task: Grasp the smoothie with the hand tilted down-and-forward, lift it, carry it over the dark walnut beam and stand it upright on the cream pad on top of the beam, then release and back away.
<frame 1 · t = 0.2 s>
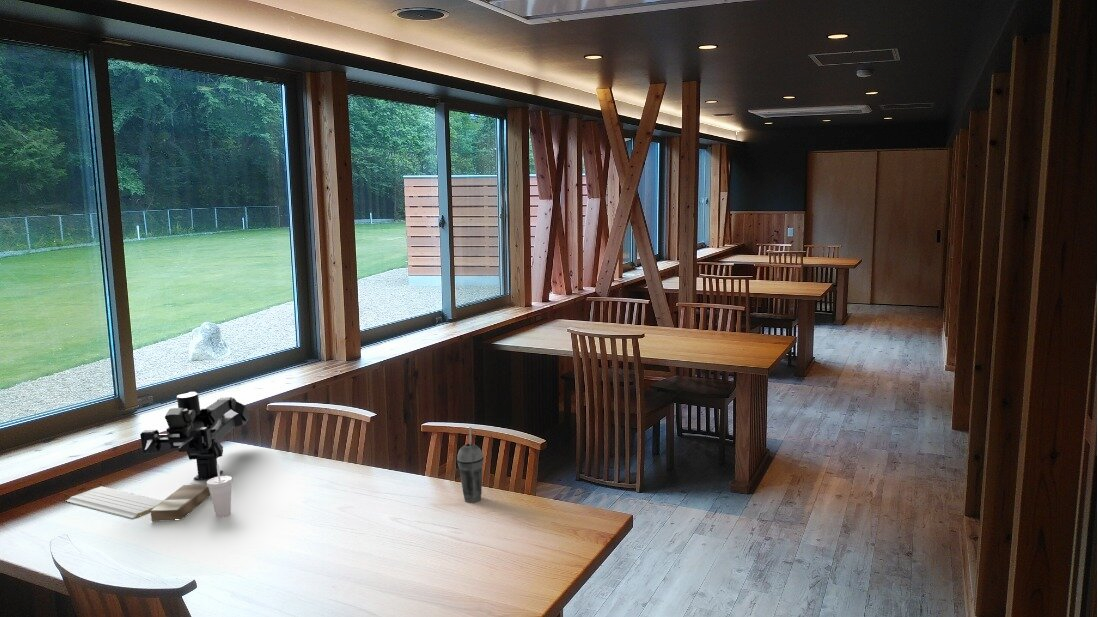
hand: (162, 451, 211), 17 cm above the table, tool horizontal, fingers open, 9 cm apart
smoothie: (223, 514, 209), on the table
baseboard molding: (114, 506, 220), on the table
beverage cup: (472, 500, 211), on the table
beam: (183, 507, 215), on the table
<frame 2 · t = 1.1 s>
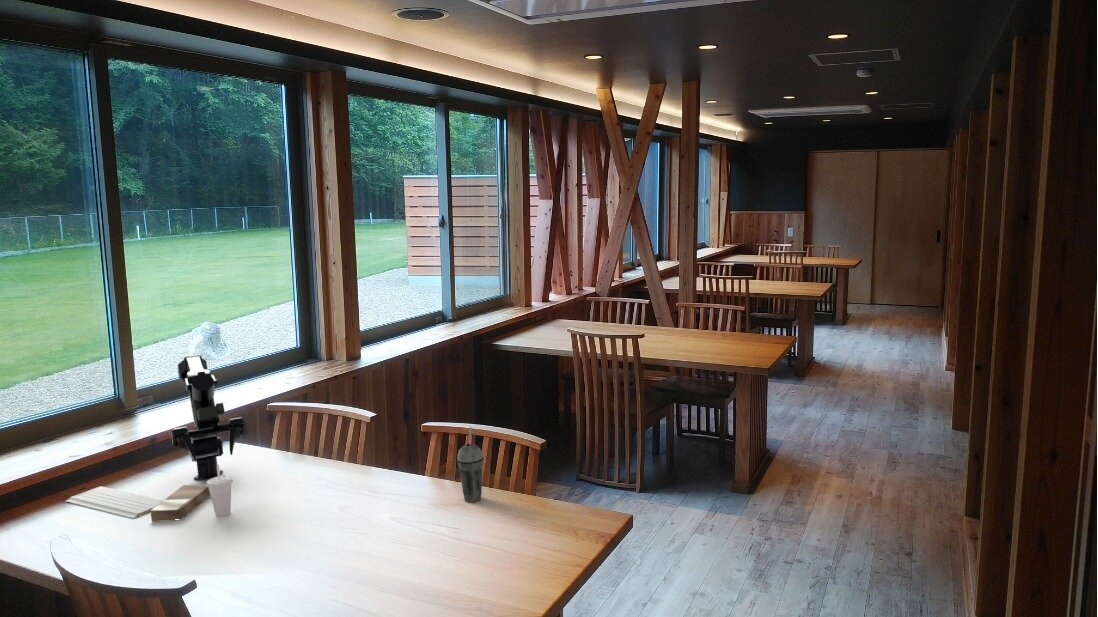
hand: (213, 457, 214), 14 cm above the table, tool tilted 45°, fingers open, 9 cm apart
nothing on the table moved.
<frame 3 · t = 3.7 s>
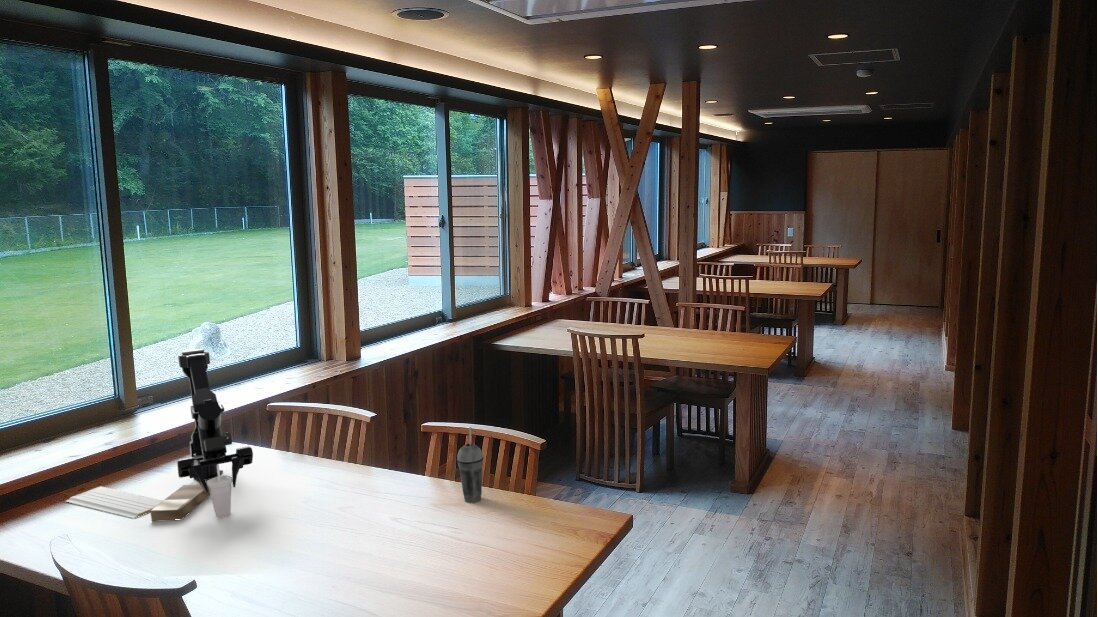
hand: (220, 489, 207), 7 cm above the table, tool tilted 45°, fingers closed on smoothie, 6 cm apart
smoothie: (223, 514, 209), on the table, touching gripper
everything else where it was.
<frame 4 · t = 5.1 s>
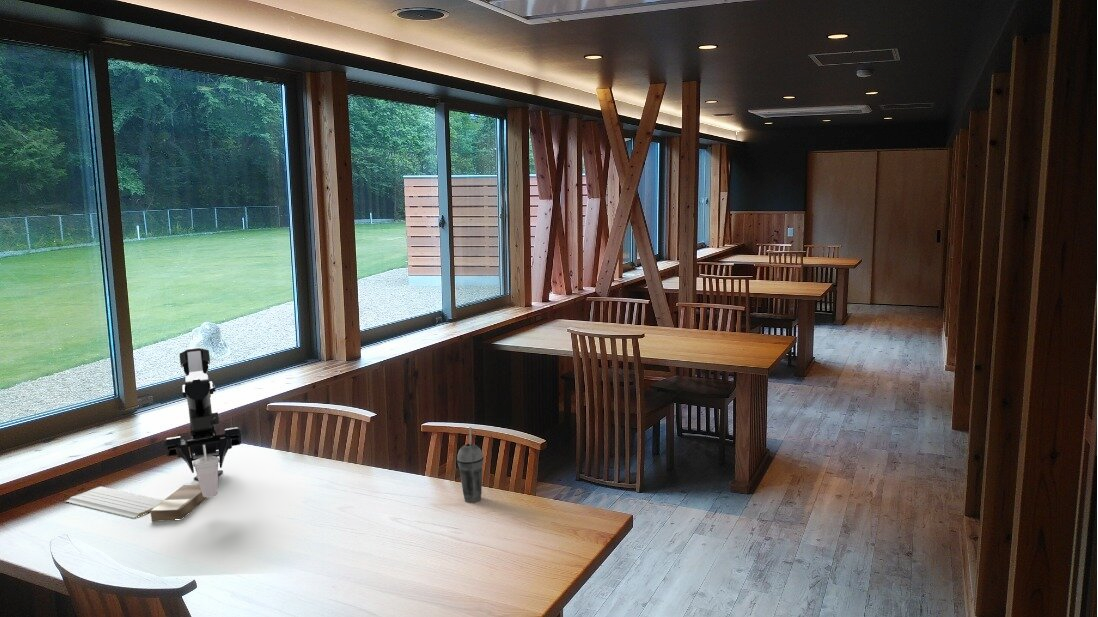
hand: (206, 469, 205), 13 cm above the table, tool tilted 45°, fingers closed on smoothie, 6 cm apart
smoothie: (210, 495, 208), point 6 cm above the table, touching gripper
everything else where it was.
when the fingers open (11 cm above the table, at t = 6.7 s): smoothie stays where it is, resting on beam.
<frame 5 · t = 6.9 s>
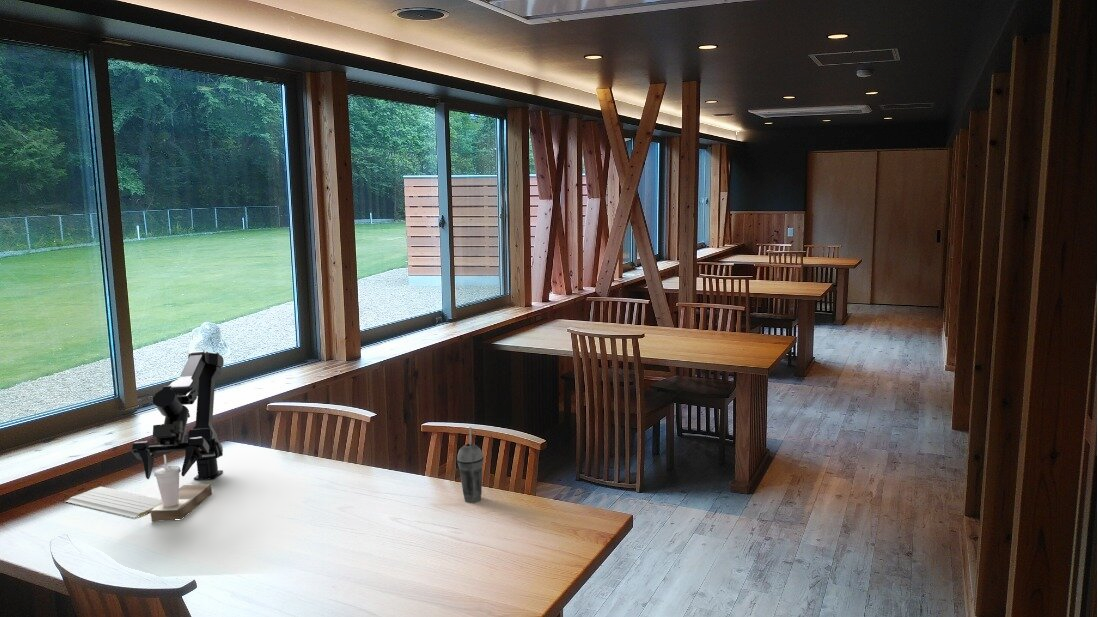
hand: (165, 477, 206), 11 cm above the table, tool tilted 45°, fingers open, 9 cm apart
smoothie: (171, 504, 209), point 3 cm above the table, touching beam
everything else where it was.
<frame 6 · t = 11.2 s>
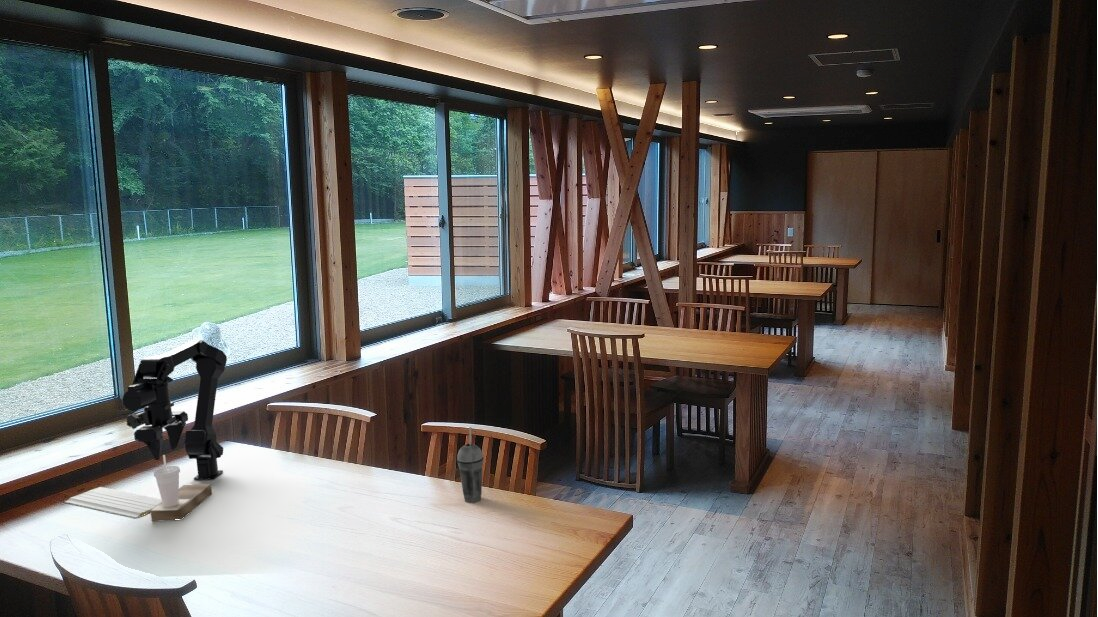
hand: (165, 454, 220), 13 cm above the table, tool pointing down, fingers open, 9 cm apart
nothing on the table moved.
at the end: smoothie inside the target area (0.2 cm from its centre), point 3.0 cm above the table; smoothie tilted 0°; smoothie touching beam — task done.
